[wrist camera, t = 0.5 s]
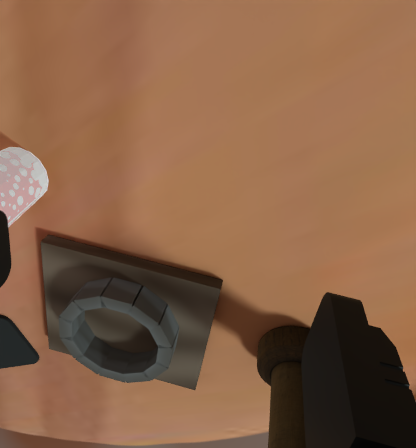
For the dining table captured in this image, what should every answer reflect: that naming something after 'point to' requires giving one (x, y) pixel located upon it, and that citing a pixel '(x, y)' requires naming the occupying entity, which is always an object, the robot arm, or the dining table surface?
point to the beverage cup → (20, 181)
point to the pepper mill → (284, 384)
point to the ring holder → (127, 313)
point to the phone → (14, 346)
